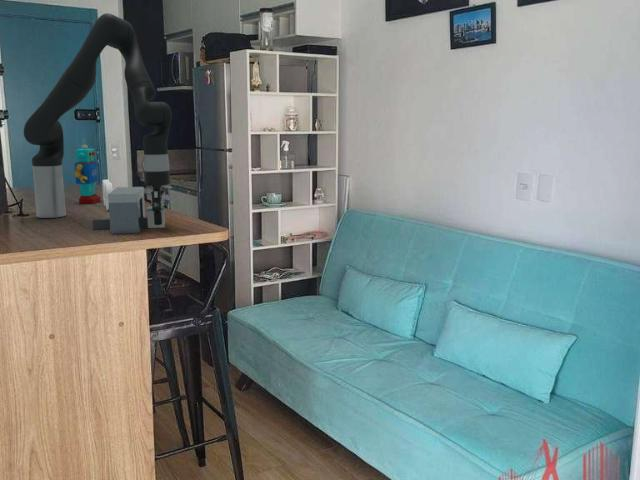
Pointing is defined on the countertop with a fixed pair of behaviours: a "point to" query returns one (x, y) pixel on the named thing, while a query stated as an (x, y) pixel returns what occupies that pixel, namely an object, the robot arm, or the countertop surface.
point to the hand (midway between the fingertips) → (159, 222)
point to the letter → (106, 192)
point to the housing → (126, 209)
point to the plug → (145, 221)
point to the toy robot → (86, 175)
